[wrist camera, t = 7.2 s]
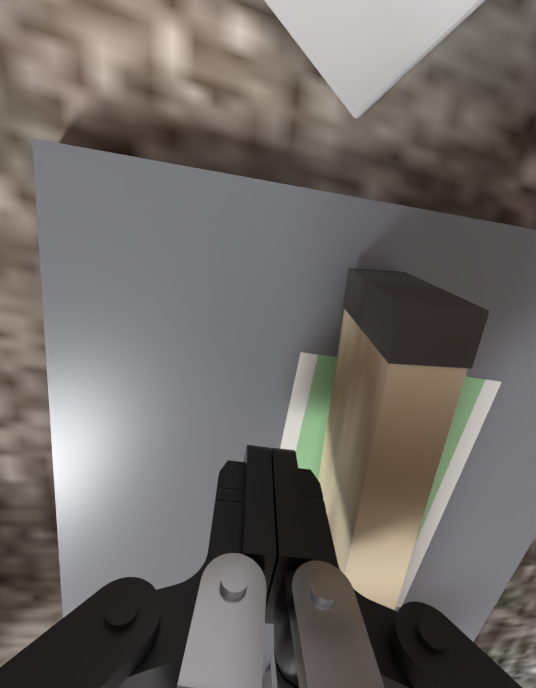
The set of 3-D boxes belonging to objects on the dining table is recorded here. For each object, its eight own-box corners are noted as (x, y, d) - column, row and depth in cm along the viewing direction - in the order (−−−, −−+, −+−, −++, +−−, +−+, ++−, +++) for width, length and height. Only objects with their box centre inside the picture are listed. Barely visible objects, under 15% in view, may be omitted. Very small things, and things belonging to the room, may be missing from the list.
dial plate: (55, 145, 11) (31, 137, 10) (657, 253, 12) (698, 258, 11) (79, 685, 21) (69, 712, 19) (409, 709, 22) (417, 737, 21)
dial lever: (338, 709, 19) (372, 939, 13) (256, 707, 19) (253, 940, 13) (448, 274, 11) (684, 361, 5) (303, 264, 11) (358, 340, 5)
